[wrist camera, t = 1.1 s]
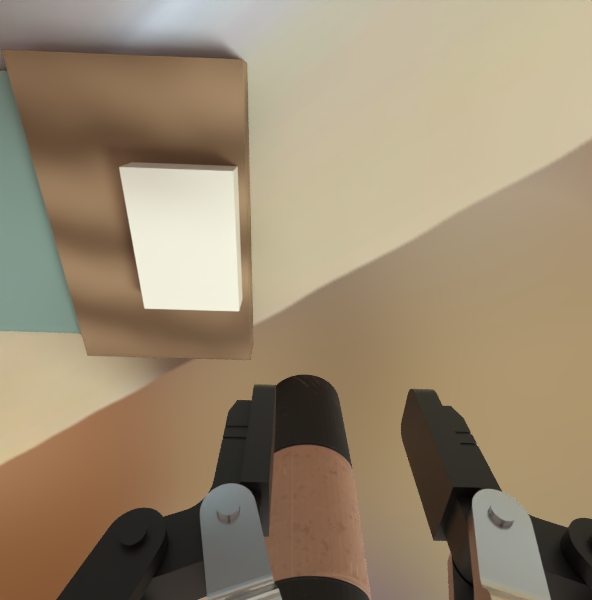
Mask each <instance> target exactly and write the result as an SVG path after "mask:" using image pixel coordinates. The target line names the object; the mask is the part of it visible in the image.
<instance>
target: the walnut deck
mask: <svg viewBox="0 0 592 600" xmlns="http://www.w3.org/2000/svg"><path fill="white" fill-rule="evenodd" d="M1 50H2V54H3V57H4V61H5V64H6V68H7V72H8V75H9V79H10V82H11V86H12V89H13V93H14V96H15V100H16V103H17V107H18V111H19V114H20V118H21V121H22V125H23V128H24V132H25V135H26V139H27V142H28V146H29V150H30V153H31V157H32V160H33V164H34V167H35V171H36V174H37V178H38V181H39V185H40V189H41V192H42V196H43V199H44V203H45V206H46V210H47V213H48V217H49V220H50V224H51V228H52V231H53V235H54V238H55V242H56V245H57V249H58V252H59V256H60V259H61V263H62V267H63V270H64V274H65V277H66V281H67V284H68V288H69V291H70V295H71V298H72V302H73V306H74V309H75V313H76V316H77V320H78V323H79V327H80V330H81V334H82V337H83V341H84V345H85V348H86V352H87V355H88V356H123V357H160V358H196V359H233V360H235V359H236V360H251V353H252V348H253V305H252V261H251V216H250V172H249V128H248V84H247V63H246V62H245V61H244V60H242V59H220V58H196V57H172V56H148V55H124V54H100V53H76V52H52V51H29V50H5V49H1ZM131 162H140V163H167V164H194V165H221V166H238V190H239V217H240V245H241V272H242V303H241V306H240V310H239V311H207V310H174V309H144V303H143V298H142V292H141V287H140V281H139V276H138V270H137V265H136V259H135V253H134V248H133V242H132V237H131V231H130V226H129V220H128V215H127V209H126V203H125V198H124V192H123V187H122V181H121V176H120V170H119V167H120V166H123V165H126V164H128V163H131Z"/></svg>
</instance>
